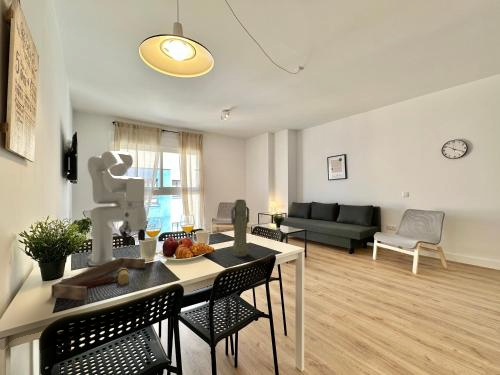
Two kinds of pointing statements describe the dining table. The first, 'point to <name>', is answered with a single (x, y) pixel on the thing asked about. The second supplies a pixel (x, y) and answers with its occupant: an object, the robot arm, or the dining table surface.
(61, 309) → the dining table surface
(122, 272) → the gavel
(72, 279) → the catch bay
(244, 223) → the tall olive-grey vase
